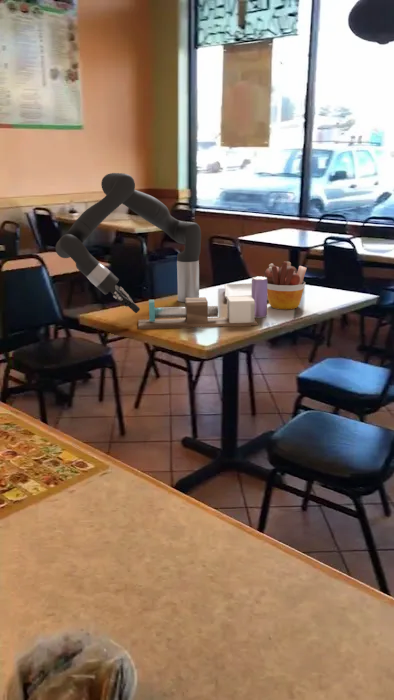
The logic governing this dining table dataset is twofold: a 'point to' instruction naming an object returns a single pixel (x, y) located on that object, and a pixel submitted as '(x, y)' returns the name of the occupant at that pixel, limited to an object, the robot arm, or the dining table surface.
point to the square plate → (239, 290)
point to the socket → (240, 309)
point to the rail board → (191, 318)
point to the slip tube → (174, 311)
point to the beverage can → (260, 296)
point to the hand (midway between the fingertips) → (138, 311)
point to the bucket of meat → (285, 285)
